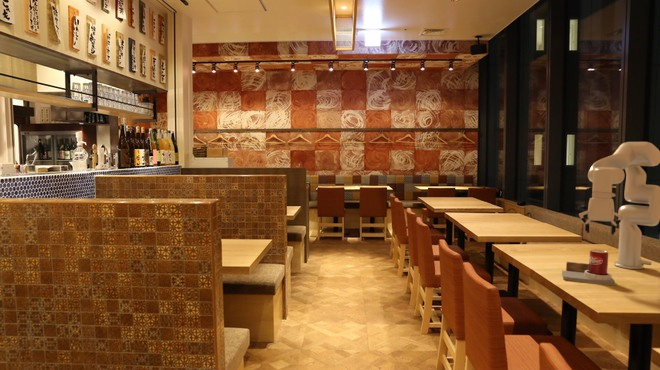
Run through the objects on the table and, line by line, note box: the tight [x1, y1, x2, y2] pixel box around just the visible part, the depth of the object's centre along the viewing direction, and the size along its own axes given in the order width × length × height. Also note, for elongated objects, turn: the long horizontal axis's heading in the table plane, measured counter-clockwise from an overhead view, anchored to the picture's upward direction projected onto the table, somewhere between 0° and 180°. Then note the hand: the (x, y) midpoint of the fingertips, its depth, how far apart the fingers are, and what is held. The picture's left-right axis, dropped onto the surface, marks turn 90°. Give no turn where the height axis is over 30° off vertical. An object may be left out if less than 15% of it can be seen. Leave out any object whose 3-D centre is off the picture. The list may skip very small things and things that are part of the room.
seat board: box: [561, 270, 616, 286], centre depth 209 cm, size 20×12×4 cm, turn 66°
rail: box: [565, 261, 589, 273], centre depth 218 cm, size 16×2×5 cm, turn 66°
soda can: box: [588, 248, 609, 275], centre depth 207 cm, size 7×7×12 cm
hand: (599, 233), depth 206 cm, fingers open, 9 cm apart
